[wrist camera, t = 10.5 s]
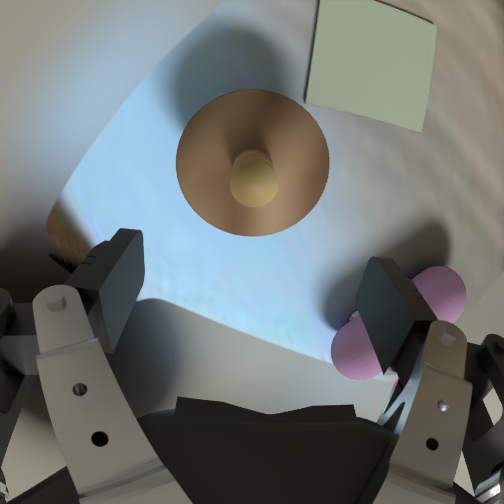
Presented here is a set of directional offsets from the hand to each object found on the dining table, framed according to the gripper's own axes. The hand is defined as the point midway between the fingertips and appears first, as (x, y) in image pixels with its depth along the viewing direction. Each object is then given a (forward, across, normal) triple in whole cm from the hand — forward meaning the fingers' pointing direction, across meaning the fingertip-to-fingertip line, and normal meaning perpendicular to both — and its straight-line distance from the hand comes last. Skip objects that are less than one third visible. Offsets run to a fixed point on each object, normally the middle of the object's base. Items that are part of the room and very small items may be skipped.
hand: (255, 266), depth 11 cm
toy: (+22, -21, +17) cm, 35 cm away
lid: (+16, 0, 0) cm, 16 cm away
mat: (+22, -11, -12) cm, 27 cm away
